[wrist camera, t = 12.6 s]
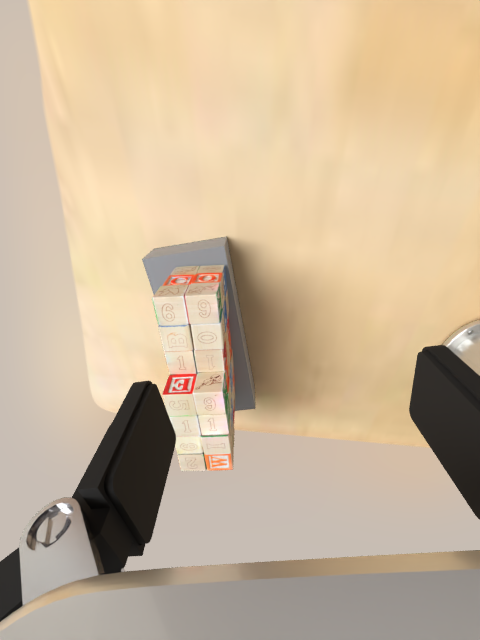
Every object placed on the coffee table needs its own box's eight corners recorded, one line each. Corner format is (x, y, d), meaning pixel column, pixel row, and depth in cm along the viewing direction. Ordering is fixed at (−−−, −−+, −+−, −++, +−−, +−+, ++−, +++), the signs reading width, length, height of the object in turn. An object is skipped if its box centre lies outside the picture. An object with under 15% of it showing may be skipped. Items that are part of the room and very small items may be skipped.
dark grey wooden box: (226, 236, 37) (224, 245, 33) (254, 387, 49) (255, 408, 45) (154, 248, 38) (142, 259, 34) (198, 393, 50) (194, 415, 46)
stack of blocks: (173, 265, 34) (140, 310, 23) (225, 263, 34) (216, 307, 23) (196, 398, 44) (180, 473, 34) (236, 397, 44) (233, 472, 33)
